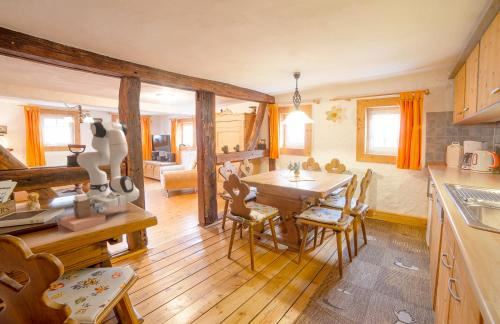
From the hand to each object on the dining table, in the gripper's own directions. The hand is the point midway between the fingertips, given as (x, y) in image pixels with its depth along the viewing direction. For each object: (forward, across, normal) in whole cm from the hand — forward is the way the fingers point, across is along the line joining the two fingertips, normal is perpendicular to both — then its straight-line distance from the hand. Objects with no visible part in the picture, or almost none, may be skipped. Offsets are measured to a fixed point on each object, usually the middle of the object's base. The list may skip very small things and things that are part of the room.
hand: (90, 204), depth 143 cm
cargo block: (+5, 0, -4) cm, 6 cm away
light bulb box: (-9, -16, +11) cm, 21 cm away
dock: (+5, 0, +10) cm, 11 cm away
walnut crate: (+4, 0, +6) cm, 8 cm away
